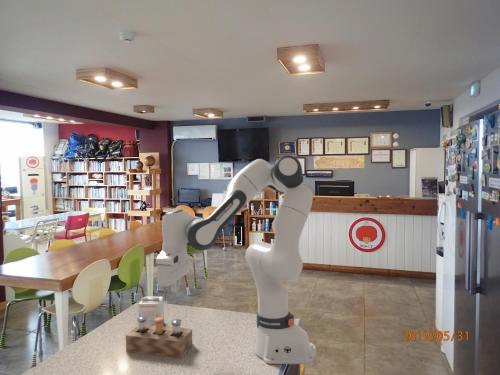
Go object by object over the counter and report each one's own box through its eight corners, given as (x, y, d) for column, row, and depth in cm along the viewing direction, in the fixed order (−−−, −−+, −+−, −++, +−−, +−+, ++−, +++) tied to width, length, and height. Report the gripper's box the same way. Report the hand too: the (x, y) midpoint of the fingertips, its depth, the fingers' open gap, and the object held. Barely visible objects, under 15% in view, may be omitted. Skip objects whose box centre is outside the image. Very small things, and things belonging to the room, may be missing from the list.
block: (192, 344, 139) (192, 329, 138) (181, 357, 129) (181, 341, 128) (140, 338, 144) (140, 323, 143) (126, 351, 134) (125, 335, 134)
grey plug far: (149, 332, 139) (148, 316, 139) (144, 336, 136) (144, 320, 135) (140, 331, 140) (140, 315, 140) (135, 335, 136) (135, 319, 136)
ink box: (164, 322, 159) (163, 292, 158) (159, 331, 150) (158, 299, 150) (145, 322, 159) (144, 292, 158) (138, 331, 151) (137, 299, 150)
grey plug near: (183, 336, 136) (182, 319, 135) (179, 340, 132) (178, 323, 132) (174, 335, 137) (174, 318, 136) (170, 339, 133) (169, 322, 133)
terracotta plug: (166, 334, 137) (165, 317, 137) (161, 338, 134) (161, 321, 134) (157, 333, 138) (157, 317, 138) (152, 337, 135) (152, 321, 134)
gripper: (178, 247, 143) (179, 282, 144) (153, 260, 124) (154, 300, 124) (193, 248, 142) (194, 283, 143) (170, 261, 122) (170, 301, 123)
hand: (175, 291), depth 133 cm, fingers closed
